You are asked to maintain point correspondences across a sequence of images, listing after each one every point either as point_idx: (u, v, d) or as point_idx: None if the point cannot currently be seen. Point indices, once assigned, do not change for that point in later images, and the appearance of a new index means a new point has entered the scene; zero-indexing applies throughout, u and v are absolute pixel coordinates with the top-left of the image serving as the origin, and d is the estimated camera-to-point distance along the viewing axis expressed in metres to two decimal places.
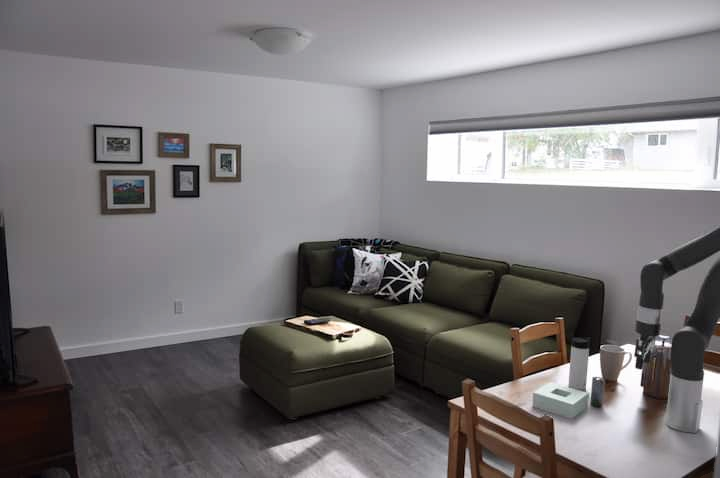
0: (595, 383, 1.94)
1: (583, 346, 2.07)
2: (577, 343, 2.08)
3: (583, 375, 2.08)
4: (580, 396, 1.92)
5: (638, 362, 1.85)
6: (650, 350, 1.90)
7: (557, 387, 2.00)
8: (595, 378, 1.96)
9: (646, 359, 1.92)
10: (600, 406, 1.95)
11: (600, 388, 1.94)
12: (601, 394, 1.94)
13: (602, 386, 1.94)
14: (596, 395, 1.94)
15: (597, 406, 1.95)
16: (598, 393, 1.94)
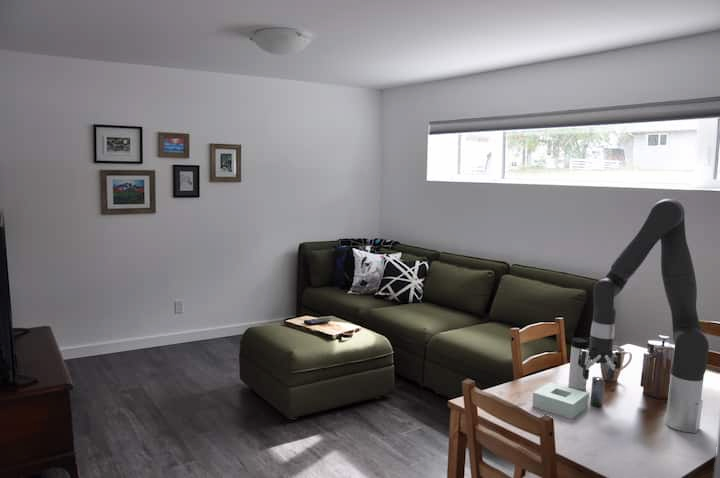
0: (595, 383, 1.94)
1: (583, 346, 2.07)
2: (577, 343, 2.08)
3: None
4: (580, 396, 1.92)
5: None
6: None
7: (557, 387, 2.00)
8: (595, 378, 1.96)
9: None
10: (600, 406, 1.95)
11: (600, 388, 1.94)
12: (601, 394, 1.94)
13: (602, 386, 1.94)
14: (596, 395, 1.94)
15: (597, 406, 1.95)
16: (598, 393, 1.94)
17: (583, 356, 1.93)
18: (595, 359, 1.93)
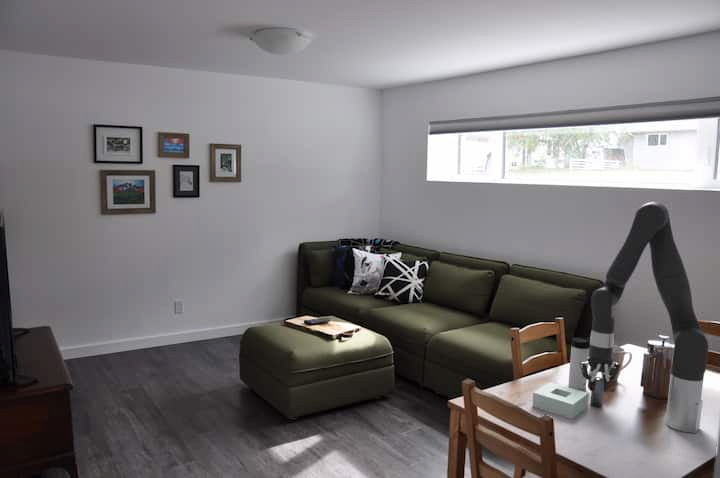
0: (595, 383, 1.94)
1: (583, 346, 2.07)
2: (577, 343, 2.08)
3: None
4: (580, 396, 1.92)
5: None
6: (592, 375, 1.96)
7: (557, 387, 2.00)
8: (595, 378, 1.96)
9: None
10: (600, 406, 1.95)
11: (600, 388, 1.94)
12: (601, 394, 1.94)
13: (602, 386, 1.94)
14: (596, 395, 1.94)
15: (597, 406, 1.95)
16: (598, 393, 1.94)
17: (584, 369, 1.94)
18: (596, 369, 1.93)
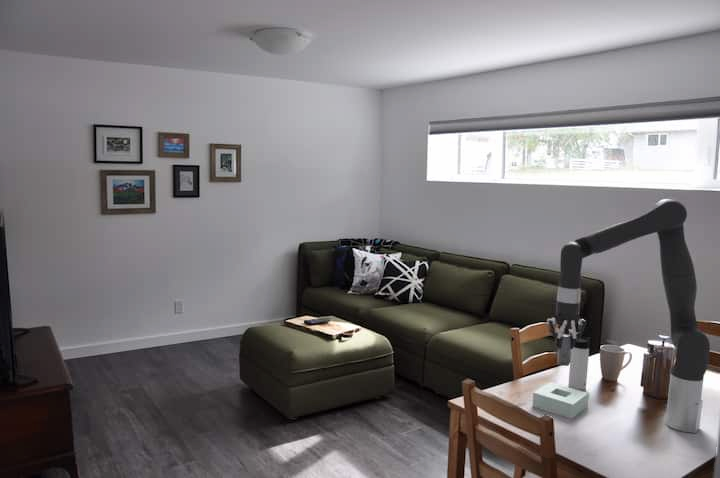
0: (562, 340, 1.91)
1: (583, 346, 2.07)
2: (577, 343, 2.08)
3: (583, 375, 2.08)
4: (580, 396, 1.92)
5: None
6: None
7: (557, 387, 2.00)
8: (562, 335, 1.93)
9: None
10: (567, 363, 1.92)
11: (567, 345, 1.91)
12: (568, 351, 1.91)
13: (569, 343, 1.91)
14: (563, 353, 1.91)
15: (564, 363, 1.92)
16: (564, 350, 1.91)
17: (551, 325, 1.90)
18: (563, 325, 1.90)
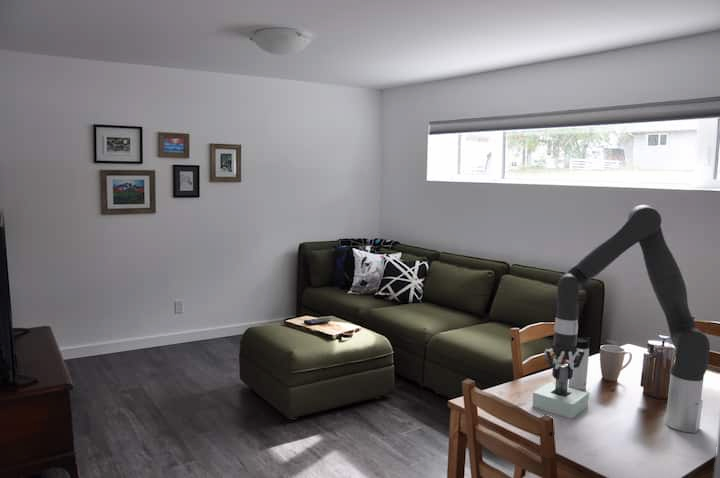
0: (559, 371, 1.92)
1: (583, 346, 2.07)
2: (577, 343, 2.08)
3: (583, 375, 2.08)
4: (580, 396, 1.92)
5: None
6: None
7: None
8: (559, 366, 1.94)
9: None
10: (564, 394, 1.93)
11: (565, 376, 1.92)
12: (565, 382, 1.92)
13: (566, 374, 1.92)
14: (560, 383, 1.93)
15: (561, 394, 1.93)
16: (562, 380, 1.92)
17: (548, 356, 1.92)
18: (560, 356, 1.91)
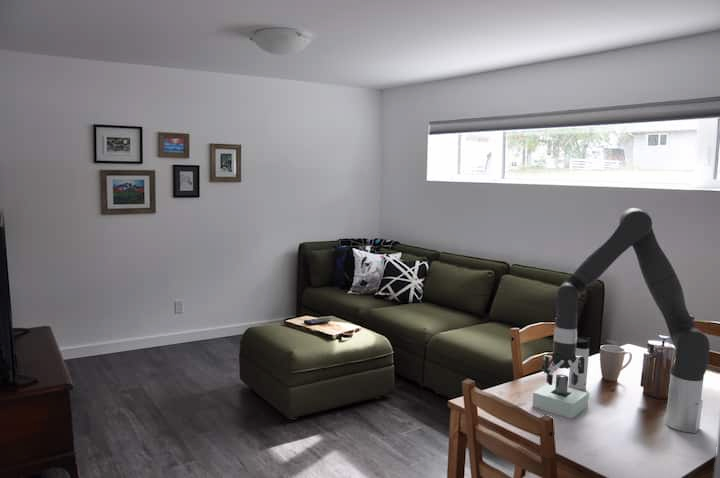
0: (559, 381, 1.93)
1: (583, 346, 2.07)
2: (577, 343, 2.08)
3: (583, 375, 2.08)
4: (580, 396, 1.92)
5: None
6: None
7: None
8: (559, 376, 1.94)
9: None
10: None
11: (564, 386, 1.92)
12: (564, 392, 1.93)
13: (565, 384, 1.93)
14: (560, 393, 1.93)
15: None
16: (561, 390, 1.93)
17: (546, 361, 1.92)
18: (558, 364, 1.92)
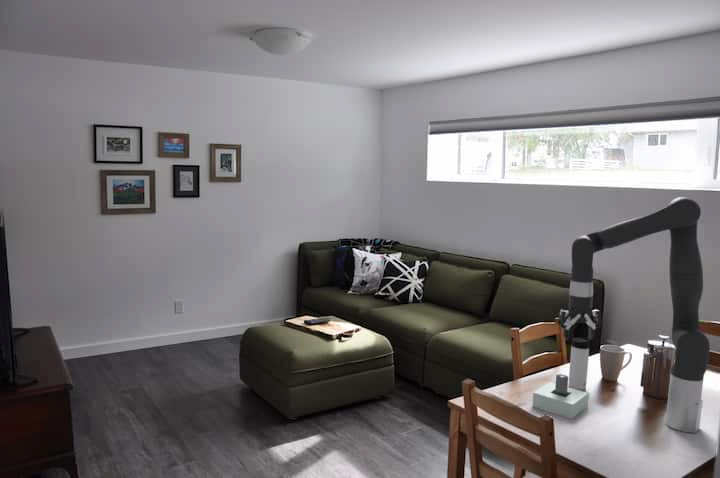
0: (559, 381, 1.93)
1: (583, 346, 2.07)
2: (577, 343, 2.08)
3: (583, 375, 2.08)
4: (580, 396, 1.92)
5: None
6: None
7: None
8: (559, 375, 1.94)
9: None
10: None
11: (564, 386, 1.92)
12: (564, 392, 1.93)
13: (565, 384, 1.93)
14: (560, 393, 1.93)
15: None
16: (561, 390, 1.93)
17: (563, 316, 1.91)
18: (575, 318, 1.91)
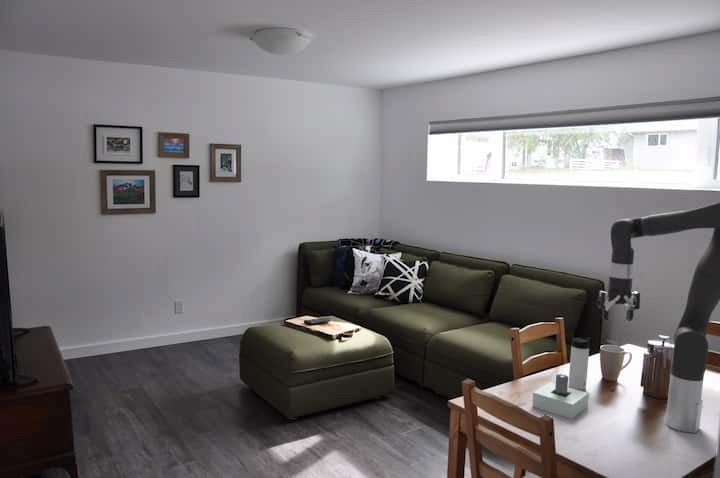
0: (559, 381, 1.93)
1: (583, 346, 2.07)
2: (577, 343, 2.08)
3: (583, 375, 2.08)
4: (580, 396, 1.92)
5: None
6: (606, 306, 1.98)
7: None
8: (559, 376, 1.94)
9: None
10: None
11: (564, 386, 1.92)
12: (564, 392, 1.93)
13: (565, 384, 1.93)
14: (560, 393, 1.93)
15: None
16: (561, 390, 1.93)
17: (602, 297, 1.95)
18: (614, 300, 1.95)
